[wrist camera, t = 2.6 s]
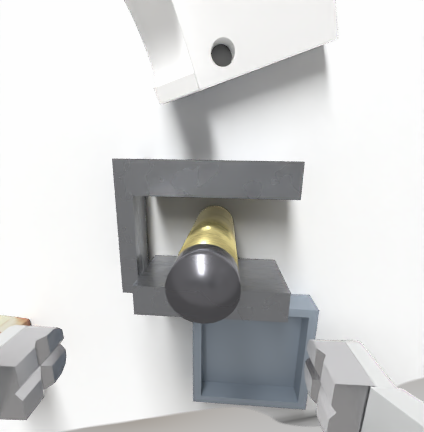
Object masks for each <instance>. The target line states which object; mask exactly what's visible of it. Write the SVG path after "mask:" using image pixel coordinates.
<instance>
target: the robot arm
mask: <svg viewBox="0 0 424 432" xmlns="http://www.w3.org/2000/svg"><path fill="white" fill-rule="evenodd" d="M63 339H64V337H63V332H62V329H60V328H57V327H43V326H25V325H14V326H10V327H8V328H7V329H6V330H4V331H3V332H2V333H0V419H7V420H27V418H28V417H29V416H30V415H31V413H32V412H33V411H34V409H35V408H36V407H37V405H38V404H39V403H40V401H41V400H42V399H43V398H44V391H45V389H46V388H48V387H49V386H51V385H52V384H54V383H55V382H56V380H57V379H58V378H59V376H60V375H61V373H62V371H63V368H64V366H65V363H66V350H65V349H64V347H63V346H62V345H61V344H60V343H61V342H62V340H63ZM307 352H308V354H309V358H308V359H307V360H306V361H305V368H304V373H305V382H306V386H307V390H308V393H309V395H310V397H311V398H312V399H313V400H314V401H315V402H316V403H317V408H316V414H317V417H318V420H319V422H320V425H321V427H322V430H323V432H424V402H422V401H421V400H419V399H418V398H416V397H415V396H413V395H412V394H410V393H409V392H407V391H406V390H404V389H402V388H397V387H396V386H395V385H394V384H393V382H392V381H391V380H390V378H389V377H388V376H387V375H386V373H385V372H384V371H383V369H382V368H381V367H380V366H379V364H378V363H377V362H376V360H375V359H374V358H373V357H372V355H371V354H370V353H369V351H368V350H367V349H366V348H365V346H364V345H363V344H362V343H361V342H359V341H355V340H341V341H339V340H314V339H309V341H308V343H307Z"/></svg>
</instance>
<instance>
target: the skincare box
mask: <svg viewBox="0 0 424 432" xmlns="http://www.w3.org/2000/svg"><path fill="white" fill-rule="evenodd" d="M14 325H25V326H30V320H29V319H26V318H19V317H11V316H2V315H0V333H2V332H3V331H4V330H6V329H7V328H8V327H10V326H14Z"/></svg>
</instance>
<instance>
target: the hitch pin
mask: <svg viewBox="0 0 424 432" xmlns="http://www.w3.org/2000/svg"><path fill="white" fill-rule="evenodd" d="M165 293H166V297H167V300H168V302H169V304H170V306H171V307H172V308H173V310H174V311H175V312H176V313H177V314H179V315H180V316H181V317H183V318H184V319H187V320H189V321H191V322H195V323H201V324H208V323H214V322H218V321H220V320H222V319H224V318H226V317H227V316H229V315H230V314H231V313H232V312H233V311H234V310H235V308H236V307H237V305H238V303H239V300H240V295H241V286H240V277H239V268H238V259H237V250H236V241H235V232H234V223H233V218H232V216H231V214H230V213H229V212H228V211H227V210H226V209H225V208H223V207H220V206H209V207H207V208H205V209H203V210H202V211H201V212H200V214H199V215H198V217H197V219H196V221H195V223H194V225H193V227H192V229H191V231H190V233H189V235H188V237H187V239H186V241H185V243H184V244H183V246H182V248H181V250H180V252H179V254H178V256H177V258H176V260H175V262H174V264H173V266H172V268H171V270H170V272H169V274H168V276H167V279H166V283H165Z"/></svg>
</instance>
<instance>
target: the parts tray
mask: <svg viewBox="0 0 424 432" xmlns="http://www.w3.org/2000/svg"><path fill="white" fill-rule="evenodd" d="M318 314H319V310H318V308H317V306H316V305H315V303H314V301H313V300H312V298H311V297H310V295H295V294H291V296H290V306H289V316H288V323H287V322H269V321H250V320H231V319H222V320H220V321H218V322H214V323H208V324H201V323H195V322H193V401H196V402H210V403H223V404H237V405H251V406H264V407H278V408H291V409H305V408H306V401H307V394H308V390H307V386H306V382H305V373H304V368H305V361H306V360H307V359H308V358H309V354H308V352H307V343H308V341H309V339H314V340H315V336H316V329H317V322H318Z"/></svg>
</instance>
